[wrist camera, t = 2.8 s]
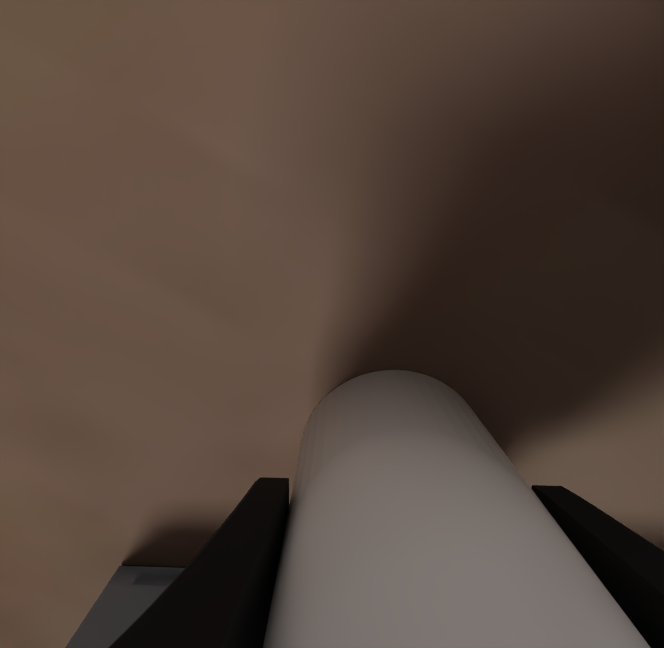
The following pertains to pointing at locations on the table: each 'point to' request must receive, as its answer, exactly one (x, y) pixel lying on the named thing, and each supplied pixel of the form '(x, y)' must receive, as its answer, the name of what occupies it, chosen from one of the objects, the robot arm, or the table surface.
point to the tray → (122, 604)
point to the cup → (425, 535)
